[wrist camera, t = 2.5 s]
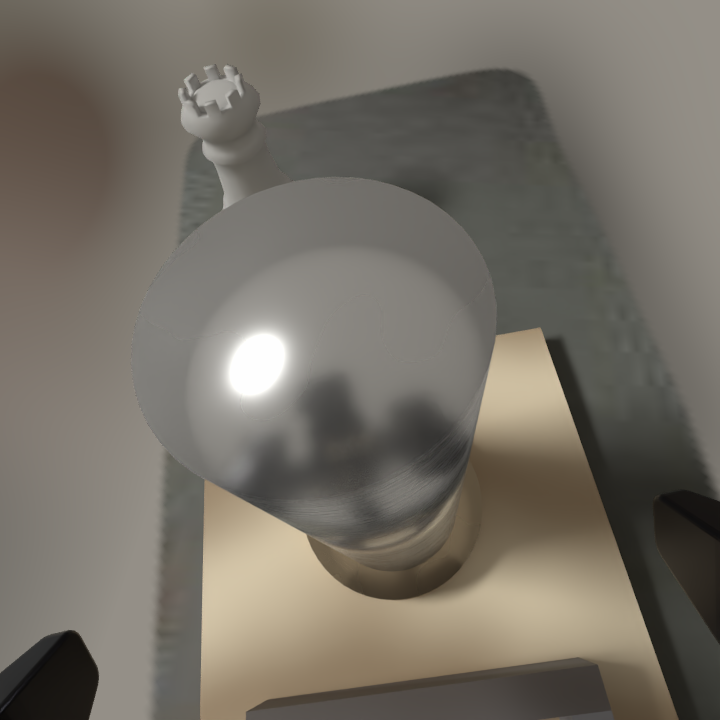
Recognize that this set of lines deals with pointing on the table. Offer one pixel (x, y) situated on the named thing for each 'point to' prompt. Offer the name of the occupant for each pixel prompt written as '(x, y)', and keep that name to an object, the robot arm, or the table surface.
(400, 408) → the grey rounded piece
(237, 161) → the rook chess piece
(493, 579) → the carrier board
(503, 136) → the table surface
